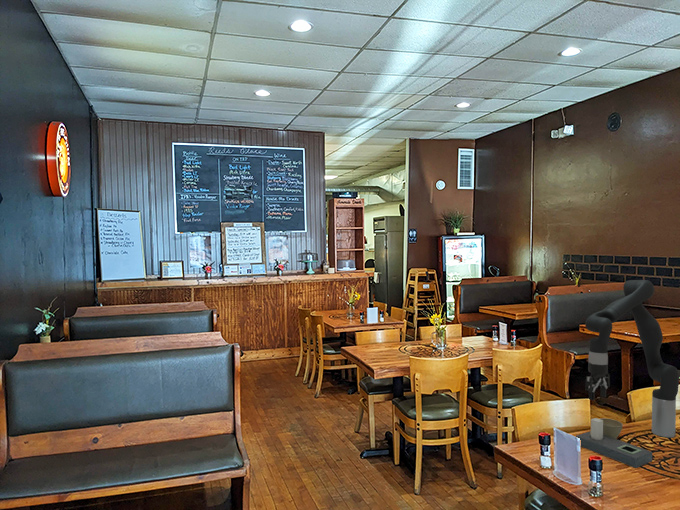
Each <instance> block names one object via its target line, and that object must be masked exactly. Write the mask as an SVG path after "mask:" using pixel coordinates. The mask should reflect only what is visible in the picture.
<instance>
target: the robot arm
mask: <svg viewBox="0 0 680 510" xmlns="http://www.w3.org/2000/svg"><path fill="white" fill-rule="evenodd" d="M623 293H624V297H620V298H618V299H617V300H614V301H613V302H611V303H609V304H608V305H607V306H606V307H605V308H603V309H602V310H600V311H597V312H594V313H592V314H591V315H589V316H588V317H587V319H586V320H585V324H584V325H585V328H586V329H587V331H590V332H593V333H596V334H597V333H598V336H597V337H591V338H590V339H589V342H588V343H589V345H588V346H589V347H588V349H589V351H588V362H587V363H588V365H587V366H588V367H587V369H588V370H587V371H588V372H589V373H590V376H585V383H584V384H585V385H584V387H585V388H584V389H585V391H587V392H588V399H589V400H590V401H595V398H596V397H595V396H596V395H595V394H596V393H595V392H596V389H597V388H598V387H600V391H599V392H600V397H602V398H606V397H607V389H608V388H610V386H611V380H610V378H611V377H610V373H609V370H608V369H609V356H608V355H609V354H608V345H609V344H608V343H609V339H610V337H611V334H612V331H613V324H614V323H616V322H617V321H618V320H620V318H622V317H623V316H625V314H626V313H628V312H630V311H631V313H632V316H633V318H634V322H635V326H636V329H637V332H638V336H639V339H640V342H641V346H642V349H643V353H644V356H645V361H646V367H647V372H648V374H649V377H650V378H651V379H652V380H653V381H654V382H655V381H656V382H657V383H659V384H660V385H659V388H656V389H653V390H652V393H651V396H652V398H651V401H652V403H651V433H652V434H654V435H656V436H659V437H664V438H675V437H676V423H677V422H676V420H677V418H676V416H677V415H676V413H677V410H676V409H677V408H676V406H677V402H676V401H677V396H678V393H679V383H680V374H679V370H678V368H677V367H676V366H674V365H671V364H669V363H668V364H667V363H664V361H663V360H662V357H661V351H660V349H661V346H662V344H663V340H664V336H663V332H662V328H661V325H660V323H659V322H658V320H657V319H656V318H655V317H654V316H653V314H651V313H650V312H649V311H648V310H647V309H646V307H645V306H644V304H643V303H644V302H646V301H648V300H650V299H651V298H652V297H653V295H654V293H655V287H654V284H653V283H652V281H650V280H647V279H629V280H626V281H625V282H624V283H623Z"/></svg>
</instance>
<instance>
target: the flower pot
mask: <svg viewBox="0 0 680 510" xmlns="http://www.w3.org/2000/svg"><path fill="white" fill-rule="evenodd" d="M600 419H601V420H603V435H606V436H609V437H612V438H615V439H617V438H618V437H619V436H620V435H621V433H622V430H623V423H622V422H620V421H619V420H616V419H613V418H603V417H601V418H600Z"/></svg>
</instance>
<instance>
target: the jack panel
mask: <svg viewBox="0 0 680 510" xmlns="http://www.w3.org/2000/svg"><path fill="white" fill-rule="evenodd" d="M576 437H578V438H580V440H581V446H580V447H581V448H584V449H586V450H589V451H591V452H594V453H597V454H599V455H601V456H604V457H606V458H609V459H612V460H614V461H616V462H620V463H622V464H624V465H626V466H629V467H631V468H634V469H637V468H640V467H642V466H645V465H647V464H649V463H652V462H653V451H651V450H648V449H645V448H643V447H640V446H636V445H634V444H631V443H628V442H626V441H623V440H620V439H617V438H616V439H615V438H612V437H609V436H606V435H603V439H602V440H599V441H598V440H596V439H593V438H591V434H590V430H589V431H587V432H583V433H581V434H576V435H575V438H576Z"/></svg>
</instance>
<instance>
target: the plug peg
mask: <svg viewBox="0 0 680 510" xmlns="http://www.w3.org/2000/svg"><path fill="white" fill-rule="evenodd" d="M601 419H602V418H596V417H595V418H591V419H590V430H589V431H590V434H591V438H593V439H596V440H598V441H599V440H602V439H603V420H601Z"/></svg>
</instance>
